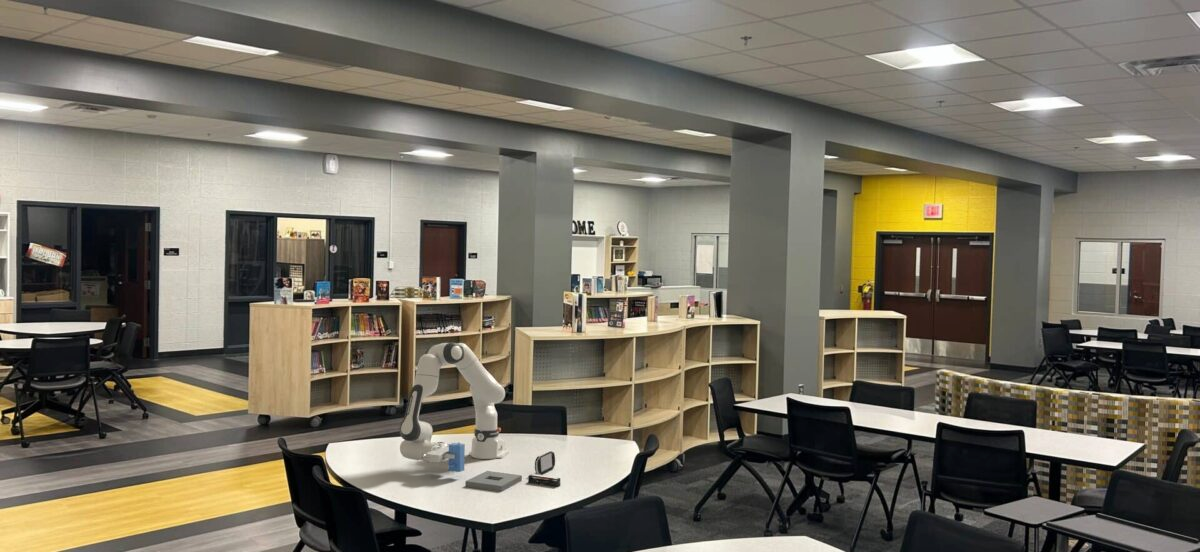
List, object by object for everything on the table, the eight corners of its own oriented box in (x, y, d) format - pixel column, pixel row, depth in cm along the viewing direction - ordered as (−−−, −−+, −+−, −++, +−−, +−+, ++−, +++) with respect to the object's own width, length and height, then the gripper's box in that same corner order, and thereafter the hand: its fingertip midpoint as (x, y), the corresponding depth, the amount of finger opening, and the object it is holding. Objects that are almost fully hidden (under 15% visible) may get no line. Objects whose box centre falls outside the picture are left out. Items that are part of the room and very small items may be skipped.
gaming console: (534, 476, 388) (538, 476, 387) (533, 457, 389) (537, 457, 388) (552, 467, 406) (556, 468, 405) (550, 449, 406) (555, 449, 405)
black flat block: (530, 479, 385) (530, 470, 385) (579, 486, 376) (579, 477, 375) (515, 486, 372) (515, 477, 372) (565, 494, 362) (565, 484, 362)
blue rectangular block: (456, 466, 387) (456, 438, 386) (467, 468, 385) (467, 440, 384) (445, 472, 377) (445, 443, 377) (456, 473, 375) (457, 444, 375)
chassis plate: (486, 476, 386) (486, 470, 386) (521, 480, 380) (521, 475, 380) (465, 486, 368) (465, 481, 368) (501, 491, 361) (501, 486, 361)
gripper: (420, 450, 376) (446, 453, 371) (443, 440, 395) (469, 443, 390) (419, 464, 376) (446, 467, 371) (443, 454, 395) (469, 457, 390)
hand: (458, 455), depth 381 cm, fingers closed on blue rectangular block, 4 cm apart
